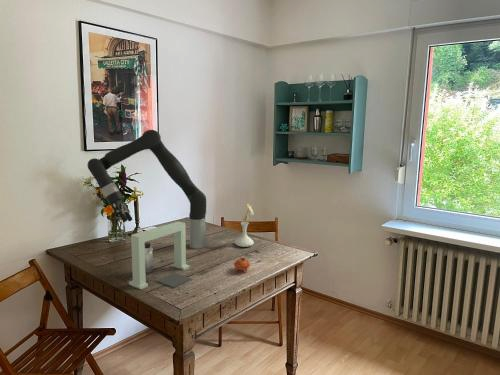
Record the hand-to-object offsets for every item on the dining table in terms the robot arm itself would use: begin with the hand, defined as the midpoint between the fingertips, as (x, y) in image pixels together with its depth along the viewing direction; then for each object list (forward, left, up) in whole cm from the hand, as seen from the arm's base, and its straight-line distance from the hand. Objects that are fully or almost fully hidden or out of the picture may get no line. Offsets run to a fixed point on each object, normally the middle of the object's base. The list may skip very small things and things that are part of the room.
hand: (128, 221), depth 184 cm
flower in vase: (-66, -1, -22) cm, 70 cm away
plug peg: (-7, +16, -21) cm, 28 cm away
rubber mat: (-16, +32, -21) cm, 42 cm away
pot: (-49, +33, -22) cm, 63 cm away
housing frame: (-11, +24, -21) cm, 34 cm away
